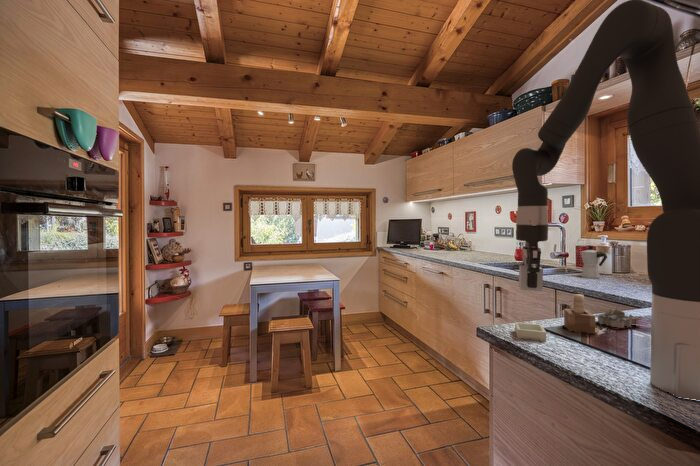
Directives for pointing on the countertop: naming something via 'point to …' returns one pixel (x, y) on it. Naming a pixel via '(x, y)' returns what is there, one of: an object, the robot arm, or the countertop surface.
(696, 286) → the robot arm
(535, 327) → the tray
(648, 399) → the countertop surface
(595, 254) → the coffee maker
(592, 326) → the bore block
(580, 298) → the tan wooden peg
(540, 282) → the off-white square block
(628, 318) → the grey lumpy piece
